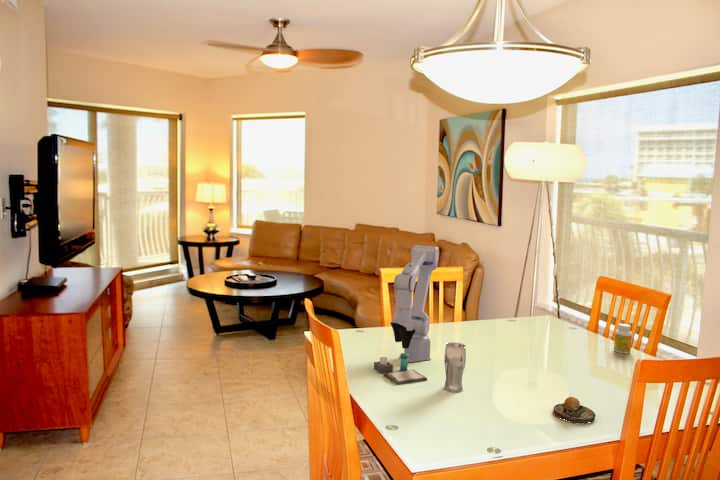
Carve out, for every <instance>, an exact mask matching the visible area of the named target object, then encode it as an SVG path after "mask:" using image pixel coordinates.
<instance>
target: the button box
mask: <svg viewBox="0 0 720 480" xmlns="http://www.w3.org/2000/svg"><path fill="white" fill-rule="evenodd" d="M373 370H374V371H376V372H377V373H379V374H382V375H383V374H386V373H393V372H394V364H392V363H391V362H389V361H388V363H387V365H382V366H381V365H380V360H379V361H374V362H373Z"/></svg>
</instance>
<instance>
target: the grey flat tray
mask: <svg viewBox="0 0 720 480" xmlns="http://www.w3.org/2000/svg"><path fill="white" fill-rule="evenodd" d="M383 376H384V378H386V379H387V380H389V381H390V382H392V383H393V384H395V385H396V386H398V385H406V384H411V383H420V382H425V381H428V378H427V377H426V376H424V375H423V374H421V373H419V372H418V371H416V370H415V369H410V370H408V369H407V371H395V372H394V371H393V372H389V373H383Z"/></svg>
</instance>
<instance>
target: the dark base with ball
mask: <svg viewBox="0 0 720 480" xmlns="http://www.w3.org/2000/svg"><path fill="white" fill-rule="evenodd" d="M552 413H553V414H555V415H556V416H557V418H558V419H559V418H561V419H565V420H567V421H570V422H573V423H572V424H576V423H588V422H592V423H594V422H595V419H596V413H595V412H594V411H593V410H592V409H591V408H589V407H587V406H584V405H581V403H580V401H579V399H578V398H576V397H574V396H571V395H570V394H569V397H566V398H565V399H564V401H563V403H558V404H556V405H554V406H553V411H552ZM555 415H554V416H555ZM556 416H555V417H556ZM561 419H560V420H561ZM567 421H566V422H567ZM593 421H594V422H593ZM570 422H569V423H570Z"/></svg>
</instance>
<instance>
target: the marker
mask: <svg viewBox="0 0 720 480" xmlns="http://www.w3.org/2000/svg"><path fill="white" fill-rule="evenodd" d="M400 355H401V357H400V362H399V363H400V366H399V372H401V371H408V367H409V366H408V362H409V361H408V354H406V353H404V352H402V353H400Z"/></svg>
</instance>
